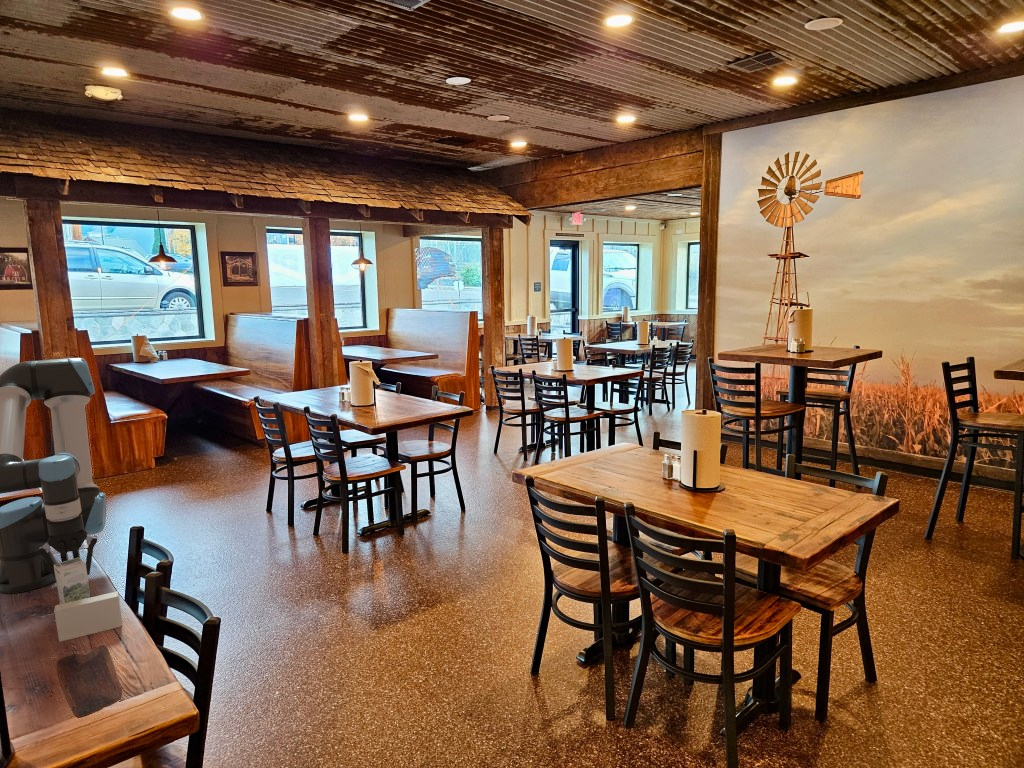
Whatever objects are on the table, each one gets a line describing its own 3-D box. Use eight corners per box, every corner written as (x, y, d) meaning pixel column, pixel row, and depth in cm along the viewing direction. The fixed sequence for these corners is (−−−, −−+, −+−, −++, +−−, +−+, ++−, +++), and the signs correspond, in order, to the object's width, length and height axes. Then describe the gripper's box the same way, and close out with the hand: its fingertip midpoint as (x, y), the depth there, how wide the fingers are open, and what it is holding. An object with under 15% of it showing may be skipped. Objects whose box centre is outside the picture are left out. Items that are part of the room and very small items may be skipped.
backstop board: (60, 635, 161) (55, 605, 160) (122, 620, 167) (118, 591, 166) (59, 641, 158) (54, 610, 157) (122, 626, 165) (117, 596, 163)
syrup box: (86, 607, 174) (78, 555, 171) (93, 615, 170) (85, 562, 168) (61, 616, 170) (52, 563, 167) (67, 624, 166) (59, 570, 163)
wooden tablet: (126, 696, 136) (67, 712, 130) (126, 706, 136) (67, 723, 130) (106, 641, 157) (55, 653, 150) (106, 650, 157) (55, 662, 151)
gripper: (31, 526, 163) (45, 615, 167) (93, 515, 170) (106, 601, 174) (34, 517, 170) (48, 603, 174) (94, 507, 176) (106, 590, 180)
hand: (77, 602), depth 174 cm, fingers closed
